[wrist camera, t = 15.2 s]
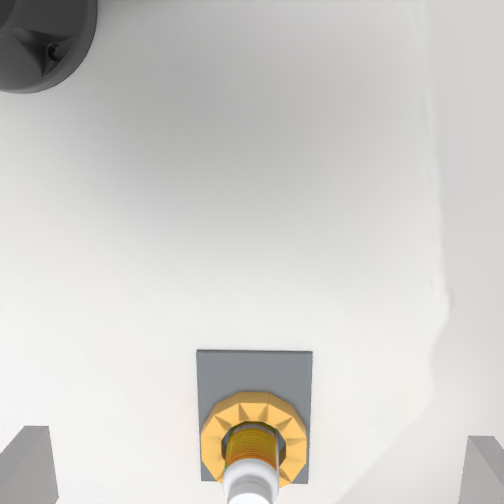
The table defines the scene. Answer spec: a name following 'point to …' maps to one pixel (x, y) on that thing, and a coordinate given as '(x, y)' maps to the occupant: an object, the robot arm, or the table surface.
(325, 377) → the table surface
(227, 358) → the slate mat
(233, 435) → the supplement bottle
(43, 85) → the robot arm
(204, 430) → the golden tan faceted ring
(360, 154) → the table surface
